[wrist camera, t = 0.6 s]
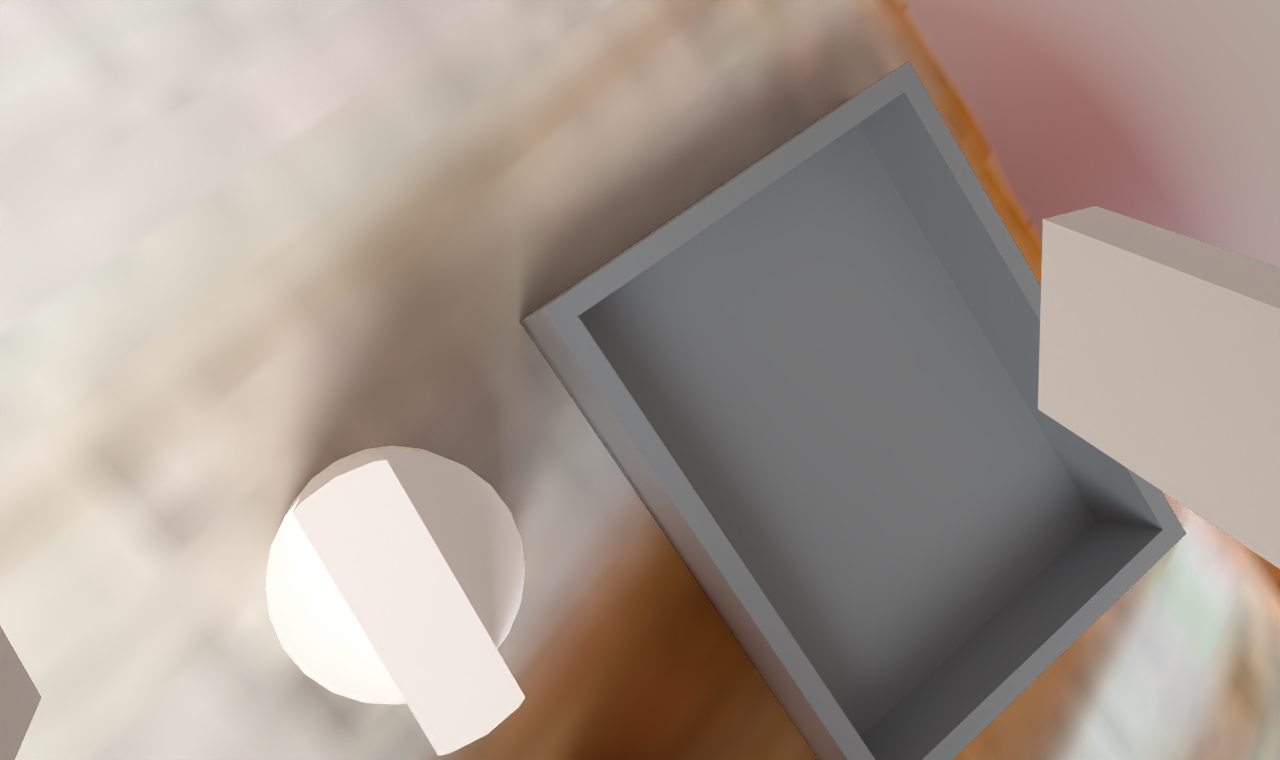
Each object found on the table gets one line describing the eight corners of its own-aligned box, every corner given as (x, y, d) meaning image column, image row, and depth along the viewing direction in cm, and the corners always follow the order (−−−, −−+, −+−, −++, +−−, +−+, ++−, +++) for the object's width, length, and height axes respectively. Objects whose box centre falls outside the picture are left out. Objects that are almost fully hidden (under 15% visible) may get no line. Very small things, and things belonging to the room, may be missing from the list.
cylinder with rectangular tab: (537, 586, 42) (612, 649, 30) (348, 707, 39) (351, 826, 28) (433, 405, 41) (470, 401, 29) (232, 518, 38) (186, 560, 27)
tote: (1106, 522, 51) (1186, 533, 46) (831, 778, 45) (889, 820, 41) (851, 97, 47) (908, 61, 42) (519, 321, 42) (542, 308, 37)
